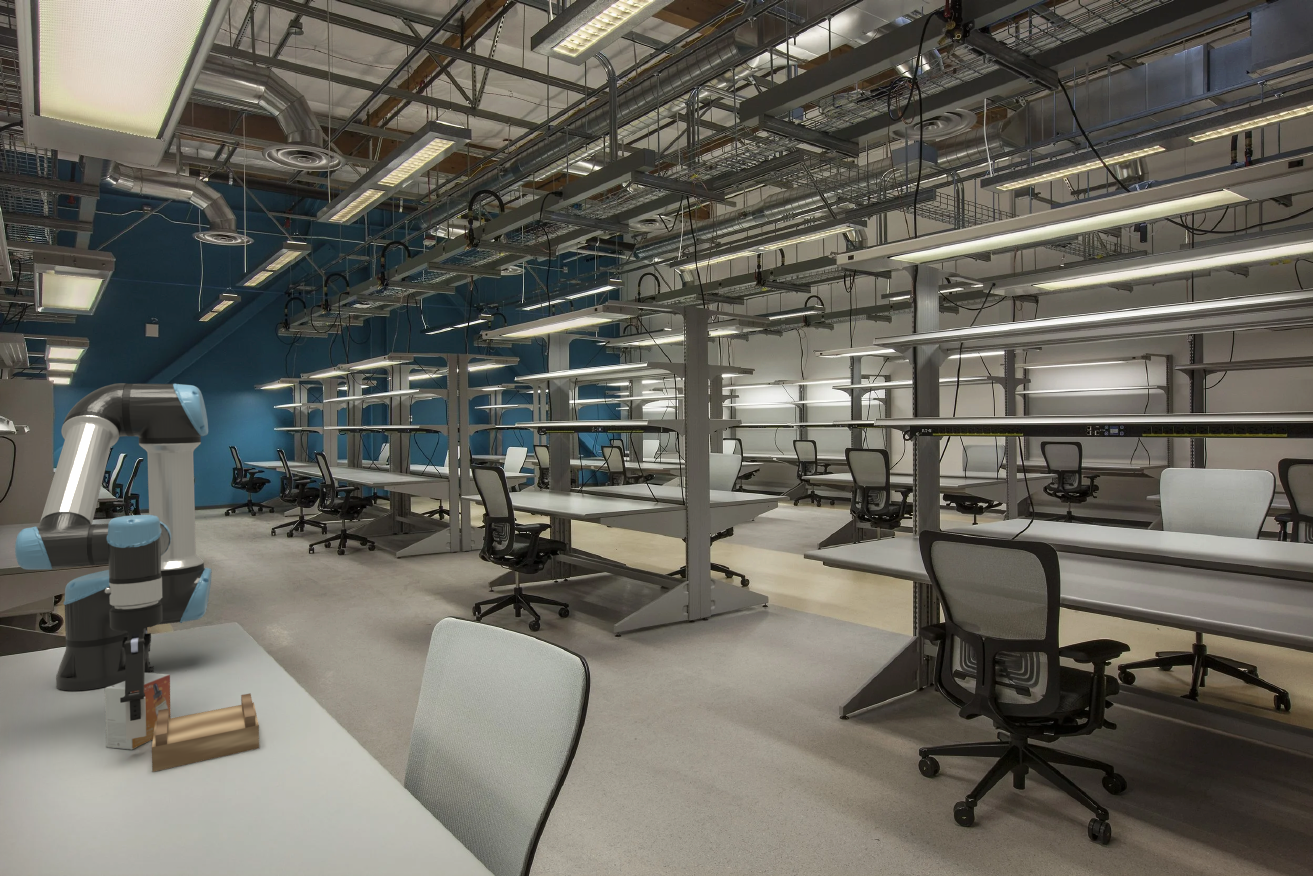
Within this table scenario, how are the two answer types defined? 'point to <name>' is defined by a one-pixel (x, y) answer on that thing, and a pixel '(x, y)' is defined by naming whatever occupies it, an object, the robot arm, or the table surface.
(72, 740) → the table surface
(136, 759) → the table surface
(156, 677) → the small box
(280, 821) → the table surface
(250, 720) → the wooden tray
